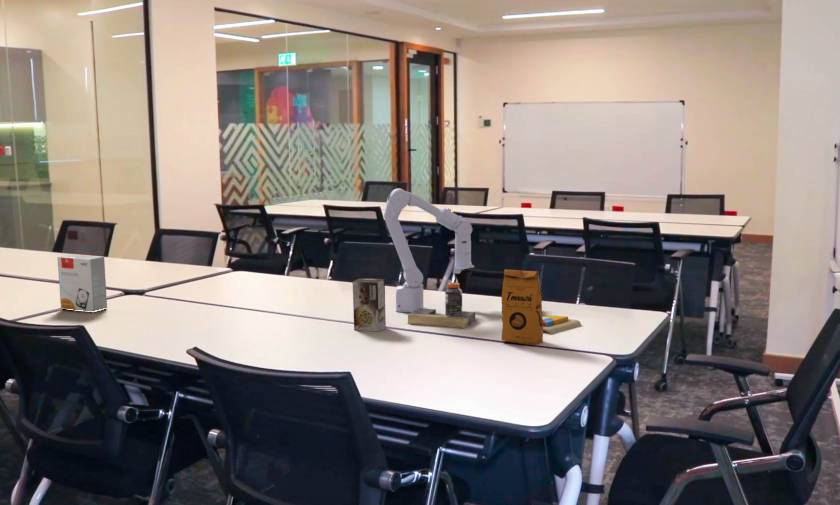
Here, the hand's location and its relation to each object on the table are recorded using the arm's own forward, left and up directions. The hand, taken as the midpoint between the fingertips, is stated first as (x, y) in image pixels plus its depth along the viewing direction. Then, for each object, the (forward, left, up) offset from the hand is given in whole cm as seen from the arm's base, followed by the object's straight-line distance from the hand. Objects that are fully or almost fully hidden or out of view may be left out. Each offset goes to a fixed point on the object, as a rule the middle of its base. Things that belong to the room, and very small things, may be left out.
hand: (463, 290), depth 290 cm
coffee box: (-19, -39, -7) cm, 44 cm away
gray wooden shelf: (0, -23, -7) cm, 24 cm away
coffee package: (+32, -40, -7) cm, 52 cm away
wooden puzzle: (+33, -16, -8) cm, 38 cm away
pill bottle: (0, -10, -7) cm, 13 cm away
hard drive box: (-131, -46, -7) cm, 139 cm away
